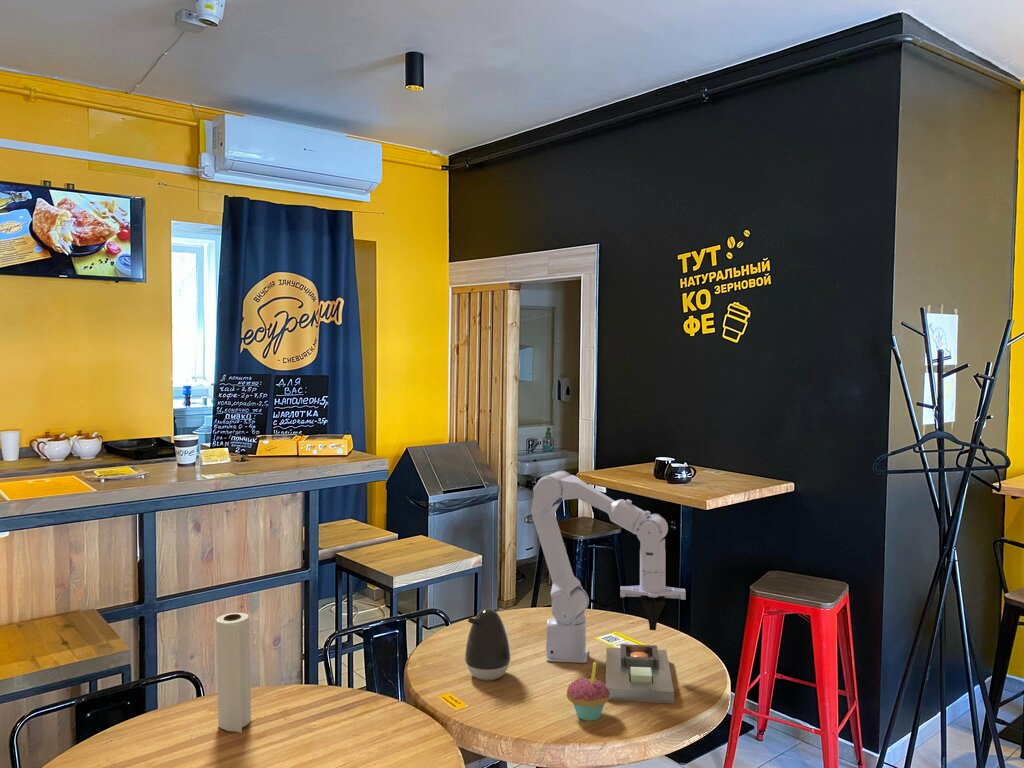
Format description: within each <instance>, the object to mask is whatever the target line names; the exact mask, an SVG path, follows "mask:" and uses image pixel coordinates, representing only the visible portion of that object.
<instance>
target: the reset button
mask: <svg viewBox="0 0 1024 768" xmlns="http://www.w3.org/2000/svg"><path fill="white" fill-rule="evenodd" d="M630 657H648V654H646V653H644V652H633V653H631V654H630Z"/></svg>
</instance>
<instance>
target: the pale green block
mask: <svg viewBox="0 0 1024 768" xmlns="http://www.w3.org/2000/svg"><path fill="white" fill-rule="evenodd" d="M630 682H633V683H652V673H651V668H648V667H630Z"/></svg>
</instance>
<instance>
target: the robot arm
mask: <svg viewBox="0 0 1024 768" xmlns="http://www.w3.org/2000/svg"><path fill="white" fill-rule="evenodd" d="M532 491H533V498H532V505H531V510H530V511H531V516H532V519H533V523H534V526H535V529H536V533H537V535H538V539H539V543H540V546H541V549H542V552H543V556H544V559H545V564H546V567H547V569H548V572H549V576H550V579H551V584H552V586H551V591H550V599H551V614H552V616H553V617H552V618H548V619H547V620H546V642H545V650H546V661H547V662H556V663H557V662H558V663H578V664H579V663H580V664H581V663H582V664H586V663H588V655H589V654H588V653H589V648H587V647H586V645H587V644H586V640H587V634H586V633H587V631H586V630H587V629H586V628H587V627H586V624H587V622H586V620H587V619H586V618H587V617H586V615H585V611H586V610H587V609H588V607H589V604H590V598H589V595H588V593H587V591H586V590H585V589H583V588H584V587H583V586H582V584H581V581H580V580H579V579H578V578H577V577H576V576H575V575H574V572H573V569H572V566H571V562H570V559H569V556H568V553H567V549H566V545H565V542H564V539H563V536H562V533H561V528H560V527H559V524H558V520H557V516H556V512H557V510H558V508H559V507H560V505H561V503H562V501H565V500H566V501H567V500H574V499H575V500H576V499H577V500H580V501H582V502H585V503H586V504H588V505H590V506H592V507H593V508H596V509H598V510H600V511H602V512H604V513H606V514H607V515H608V517H609V521H610V522H612V523H613V524H615V525H617V526H619V527H621V528H623V529H625V530H626V531H628V532H629V533H632V534H633V535H636V537H637V539H638V540H639V542H640V543H639V544H640V545H639V546H640V547H639V548H640V549H639V585H628V586H627V585H625V586H623V585H621V586H620V588H619V590H620V592H619V595H620V597H619V598H625V597H629V598H631V597H633V598H640V603H641V606H642V607H643V610H644V612H645V614H646V618H647V621H648V626H649V627H648V628H649V630H650V631H656V630H657V625H658V621H659V618H660V614H661V612H662V610H663V609H664V606H665V604H666V599H680V600H681V601H682V600H684V601H685V600H686V599H687V598H686V596H687V595H686V594H687V593H686V592H687V591H686V589H685V588H678V587H674V586H673V587H671V586H666V556H667V555H666V551H667V550H666V538H665V537H666V536H667V534H668V531H669V526H668V522H667V520H666V519H665V518H664V517H663V516H661V515H660V514H659V513H652V514H651V511H649V510H643V509H641V508H639V507H638V506H636V505H634V504H632V503H633V501H632V500H630V499H626V500H625V499H622V498H620V499H617V500H614V499H612V498H611V497H609V496H607V495H606V494H605V493H603V492H601V491H600V490H597V489H596V488H594V487H593V486H592V485H590V484H588V483H586V482H585V481H584V480H581V479H580V478H579V477H578V476H576V475H573V474H570V473H569V472H567V471H566V470H557V471H555V472H553V473H551V474H548V475H544V476H542V477H541V478H539V479H538V481H537V482H536V484H535V485H534V486H533V488H532Z"/></svg>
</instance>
